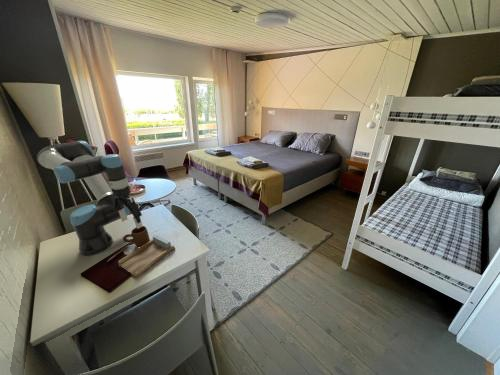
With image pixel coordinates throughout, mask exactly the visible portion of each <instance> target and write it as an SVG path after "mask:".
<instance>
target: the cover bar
mask: <svg viewBox="0 0 500 375" xmlns="http://www.w3.org/2000/svg"><path fill="white" fill-rule="evenodd" d="M152 239H153V240H154V243H156V244H158V245H160V246H162V247H164V248H166V249H168V248H169V247H171V246H172V244H171V243H172V242H171V240H168V239H166V238H164V237H162V236H159V235H158V234H154V235H153V236H152Z"/></svg>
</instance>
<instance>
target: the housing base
mask: <svg viewBox="0 0 500 375" xmlns="http://www.w3.org/2000/svg"><path fill="white" fill-rule="evenodd" d="M175 250H176V247H175V246H174V244H171V247H169V248H168V249H166V248H164V247H162V246H160V245H158V244H156V243H154V240H153V238H152V239H150V241H149V242H147V243H146V244H144V245H143V246H141V247H140V248H138V247H137V248H136V249H135V250H134V251H132V252H130V253H129V254H127V255H125V256H124V257H122V258H121V259H119V260H118V261H117V262H118V263H117V265H119V266H118V267H120V266H121V267H122V268H124V269H125V270H127V271H128V272H130V273H131V274H130V273H129V274H130V275H131V276H133V277H134V278H135V279H138V278H140V276H142V275H143V274H144V273H146V272H147V271H148V270H150V269H151V268H152V267H154V266H155V265H157V264H158V263H159V262H161V261H162V260H163V259H164V258H166V257H167V256H169V255H170V254H171V253H173V252H174V251H175ZM121 267H120V268H121ZM122 268H121V269H122ZM124 269H123V270H124ZM125 270H124V271H125ZM127 271H126V272H127ZM128 272H127V273H128Z"/></svg>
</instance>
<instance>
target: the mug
mask: <svg viewBox="0 0 500 375" xmlns="http://www.w3.org/2000/svg"><path fill="white" fill-rule="evenodd" d="M127 238H129V239H127ZM122 240H123V242H124V243H127V244H128V243H129V244H130V243H134V245H136V246H137V247H136V246H135V247H136V248H138V247H141V246H143V245H144V244H146V243H147V242H149V241H151V238H150V235H149V232H148V229H147V227H146V226H145V225H142V227H140V228H138V229H137V228H136V227H134V228H132V230H131V233H128V234H125V235H124V236H123V238H122Z"/></svg>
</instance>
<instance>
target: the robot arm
mask: <svg viewBox="0 0 500 375" xmlns="http://www.w3.org/2000/svg"><path fill="white" fill-rule="evenodd" d="M36 159H37V162H38V164H39V165H40V166H42V167H44V168H46V169H50V170H52V171H53V173H54V176H55V178H56V179H57V181H58V182H60V183H61V184H68V183H72V182H73V183H74V182H77V181H80V180H82V179H83V181H85V184H86V185H87V186H88V188H89V189H90V191H91V192H92V193H93V196H94V197H95V198H96V200H97V201H96V205H95V204H92V203H91V204H88V205H87V204H85V205H83V206H80V207H78V208H76V209H74V211H72V212H71V213H70V215H69V220H70V221H69V222H70V223H71V226H72V228H73V229H74V231H75V234H76V236H77V238H78V250H79V252H80V254H81V255H83V256H93V255H96V254H99V253H103V252H104V251H105V250H107V249H109V248H110V247H111V246H112V244H113V242H114V238H113V237H112V235H110V234H109V232H107V230H106V229H105V226H107V225H109V224H111V223H114V222H116V221H118V220H120V219H121V222H126V221H127V220H128V215H130V213H131V215H132V216H133V221H134V224H135V228H137V229H138V228H140V227H142V226H143V223H142V219H141V216H143V214H142V212H141V210H140V208H139V207H138V205H137V204H136V201H135V197H130V196H129V195H130V194H131V187H130V185H129V181H128V178H127V175H126V171H125V168H124V163H123V161H122V158H121V156H120V154H117V153H113V154H112V153H111V154H105V155H96V156H95V152H94V150H93V148H92V147H91V145H90V144H89V143H88V142H86V141H85V140H74V141H70V142H64V143H57V144H51V145H48V146H45V147H43V148H42V149H40V151H39V152H38V153H37V156H36ZM103 174H105V175H106V177H107V181H108V182H107V181H106V179H105V178H104V176H103Z"/></svg>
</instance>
